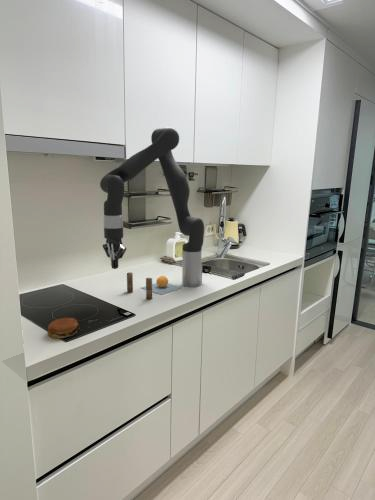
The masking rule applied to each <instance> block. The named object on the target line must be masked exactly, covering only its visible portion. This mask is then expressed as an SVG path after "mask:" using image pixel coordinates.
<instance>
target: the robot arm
mask: <svg viewBox="0 0 375 500" xmlns="http://www.w3.org/2000/svg"><path fill="white" fill-rule="evenodd" d="M150 137H151V138H150V139H151V144H150V145H148V146H147V147H145V148H144V149H143V148H142V150H140V151H137V152H136V153H134V154H133V155H131V156H129V157H128V158H127V159H126V160H125V161H124V162H122V164H120V165H119V166H118V167H115V168H114V169H113V170H111V171H110V172H108V173H106V174H105V175H104V176H102V178H101V180H100V183H99V187H100V189H101V190H102V192H104V193H106V194H107V199H106V200H105V201H104V202H103V233H104V234H103V237H104V239H105V243H104V244H102V248H103V251H104V252H105V255H106V257H107V258H109V260H110V266H111V269H113V270H116V269H118V268H119V260H120V259H122V258H123V256H124V255H125V252H126V251H127V247H126V246H125V247H124V246H123V242H122V240H123V238H124V219H123V205H122V204H123V201H124V194H125V182H129V181H132V180H133V179H135V178H136V177H137V176H138V175H139V174H140V173H142V171H144V170H145V169H146V168H147V167H149V166H150V165H151V164H152V163H154V162H155V161H157V160H158V161H159V164H160V166H161V169H162V172H163V175H164V178H165V181H166V185H167V188H168V192H169V194H170V197H171V200H172V203H173V207H174V210H175V214H176V220H177V223H178V225H177V226H178V229H179V231H180V232H181V234H182V235H184V236H187V237H188V242H186V243H185V242H184V243H183V245H182V259H181V260H182V262H181V263H182V266H181V267H182V268H181V269H182V270H181V271H182V274H181V275H182V276H181V278H182V279H181V280H182V281H181V284H182V286H184V287H188V288H195V287H199V286H201V285H202V284H203V273H202V267H203V265H202V250H203V249H202V248H203V245H204V239H205V238H204V237H205V224H204V221H203V219H201V218H200V217H194V216H191V213H190V209H189V206H188V204H189V198H190V192H191V190H190V185H189V182H188V178H187V176H186V174H185V172H184V170H183V169H182V168H181V167H180V165H179V164H178V163H177V161H176V160H175V157H174V155H173V152H172V151H173V150H174V149H175V148H177V146H178V145H179V143H180V135H179V132H178V130H176V129H175V128H173V127H170V126H169V127H160V128H155V129H154V130H153V132H152V133H151V136H150Z"/></svg>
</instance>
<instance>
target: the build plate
mask: <svg viewBox="0 0 375 500" xmlns="http://www.w3.org/2000/svg"><path fill="white" fill-rule="evenodd" d="M211 266H212V265H210V264H203V265H202V274H207V273H209V272H210V271H211V272H212V267H211ZM206 270H207V271H206ZM209 275H211V274H210V273H209Z"/></svg>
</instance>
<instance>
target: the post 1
mask: <svg viewBox="0 0 375 500" xmlns="http://www.w3.org/2000/svg"><path fill="white" fill-rule="evenodd" d="M133 274H134V273H133V272H131V271H130V272H127V273H126V292H127V294H132V293H134V284H133V281H134V278H133Z"/></svg>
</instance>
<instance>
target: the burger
mask: <svg viewBox="0 0 375 500" xmlns="http://www.w3.org/2000/svg"><path fill="white" fill-rule="evenodd" d="M80 329H81V328H80V325H79V323H78V320H77V319H76V318H73V317H62V318H58V319H55V320H52V321H51V322H50V323H49V324H48V326H47V336H48V337H49V338H51V339H54V340H59V339H65V338H68V337H72V336H74V335H75V334H77V333H78V332H79V331H78V330H80Z"/></svg>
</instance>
